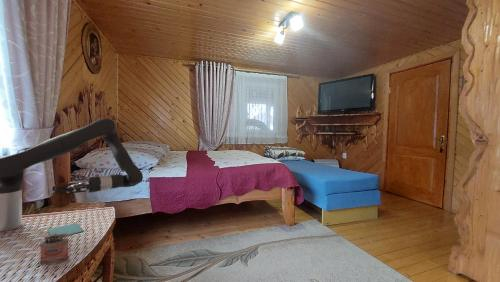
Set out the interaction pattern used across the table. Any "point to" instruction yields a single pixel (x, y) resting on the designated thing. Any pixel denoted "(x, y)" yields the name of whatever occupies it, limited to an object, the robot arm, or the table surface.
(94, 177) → the robot arm
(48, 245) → the lighter
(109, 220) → the table surface
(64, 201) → the wooden figurine
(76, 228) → the mat
